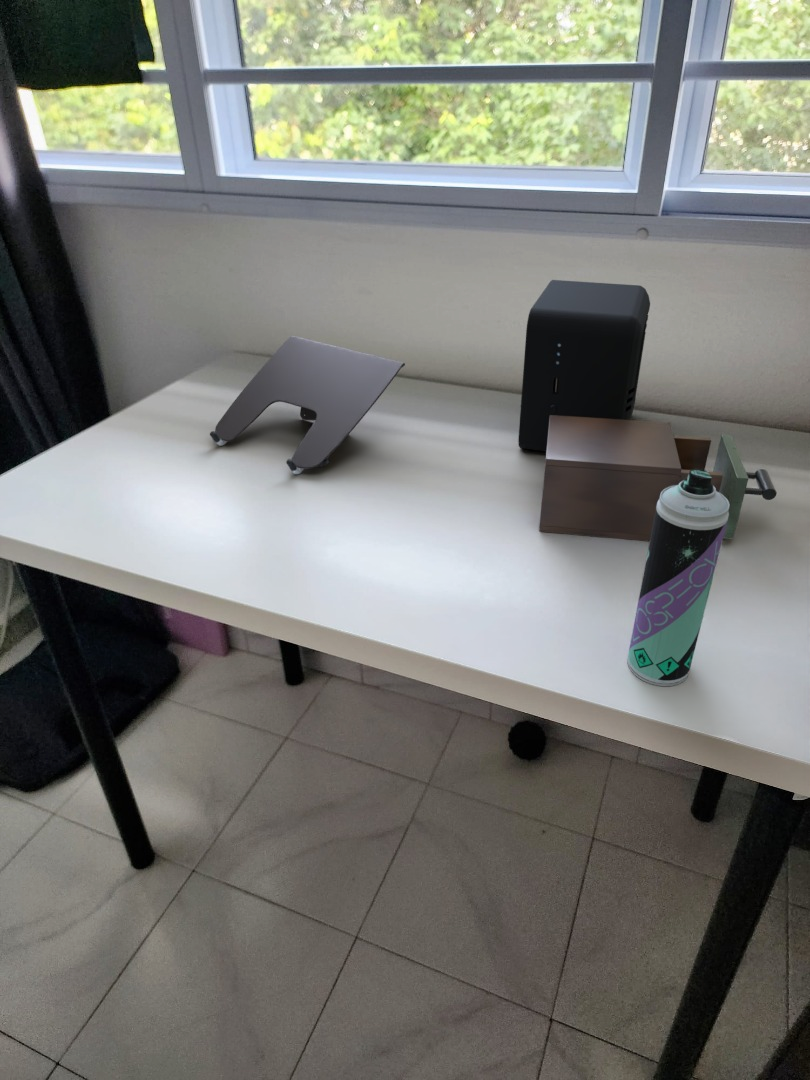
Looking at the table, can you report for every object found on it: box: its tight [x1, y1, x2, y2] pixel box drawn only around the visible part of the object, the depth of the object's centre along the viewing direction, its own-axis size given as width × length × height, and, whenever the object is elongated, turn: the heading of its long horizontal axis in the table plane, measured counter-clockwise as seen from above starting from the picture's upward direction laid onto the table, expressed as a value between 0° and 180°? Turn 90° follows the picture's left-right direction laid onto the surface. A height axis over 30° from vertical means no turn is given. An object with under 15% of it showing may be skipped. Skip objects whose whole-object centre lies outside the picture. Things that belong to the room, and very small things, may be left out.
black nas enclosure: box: [517, 279, 651, 452], centre depth 107 cm, size 20×15×20 cm
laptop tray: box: [209, 335, 406, 475], centre depth 112 cm, size 23×23×9 cm
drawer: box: [673, 434, 777, 540], centre depth 89 cm, size 18×11×8 cm, turn 79°
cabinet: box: [538, 415, 681, 542], centre depth 90 cm, size 15×13×10 cm
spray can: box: [626, 469, 730, 687], centre depth 64 cm, size 6×6×20 cm
